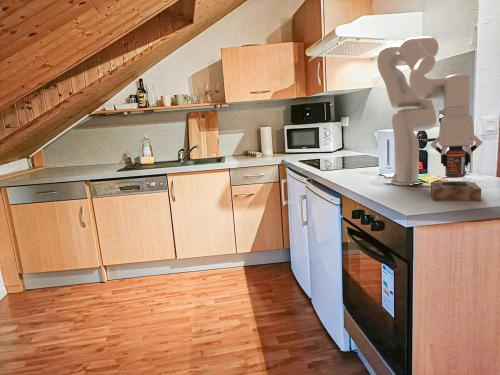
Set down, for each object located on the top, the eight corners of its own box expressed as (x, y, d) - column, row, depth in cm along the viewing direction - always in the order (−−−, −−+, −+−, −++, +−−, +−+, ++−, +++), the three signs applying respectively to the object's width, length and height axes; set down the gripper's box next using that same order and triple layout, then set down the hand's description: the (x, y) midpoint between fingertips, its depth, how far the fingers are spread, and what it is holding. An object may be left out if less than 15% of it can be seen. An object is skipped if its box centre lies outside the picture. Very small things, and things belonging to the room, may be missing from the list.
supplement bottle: (442, 177, 124) (443, 145, 122) (448, 175, 128) (448, 143, 126) (462, 178, 120) (462, 144, 118) (467, 175, 124) (467, 143, 122)
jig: (433, 200, 123) (433, 187, 122) (430, 192, 134) (430, 180, 133) (480, 200, 117) (481, 187, 117) (474, 193, 128) (474, 180, 127)
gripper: (428, 114, 120) (428, 167, 123) (489, 110, 114) (486, 166, 117) (427, 114, 127) (426, 164, 130) (484, 110, 120) (482, 163, 123)
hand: (455, 165), depth 123 cm, fingers closed on supplement bottle, 6 cm apart
